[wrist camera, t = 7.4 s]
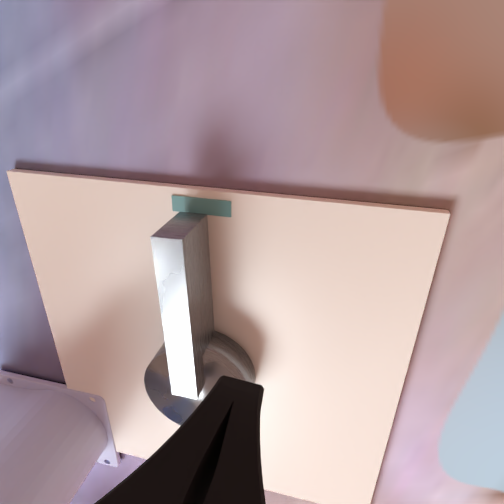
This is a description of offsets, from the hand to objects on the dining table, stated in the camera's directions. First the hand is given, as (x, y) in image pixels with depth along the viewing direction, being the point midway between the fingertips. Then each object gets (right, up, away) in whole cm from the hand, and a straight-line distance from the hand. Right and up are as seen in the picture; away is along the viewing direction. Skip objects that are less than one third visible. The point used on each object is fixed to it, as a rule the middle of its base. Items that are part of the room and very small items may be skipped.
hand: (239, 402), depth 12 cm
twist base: (-2, -2, +12) cm, 12 cm away
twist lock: (-2, +1, +9) cm, 10 cm away
